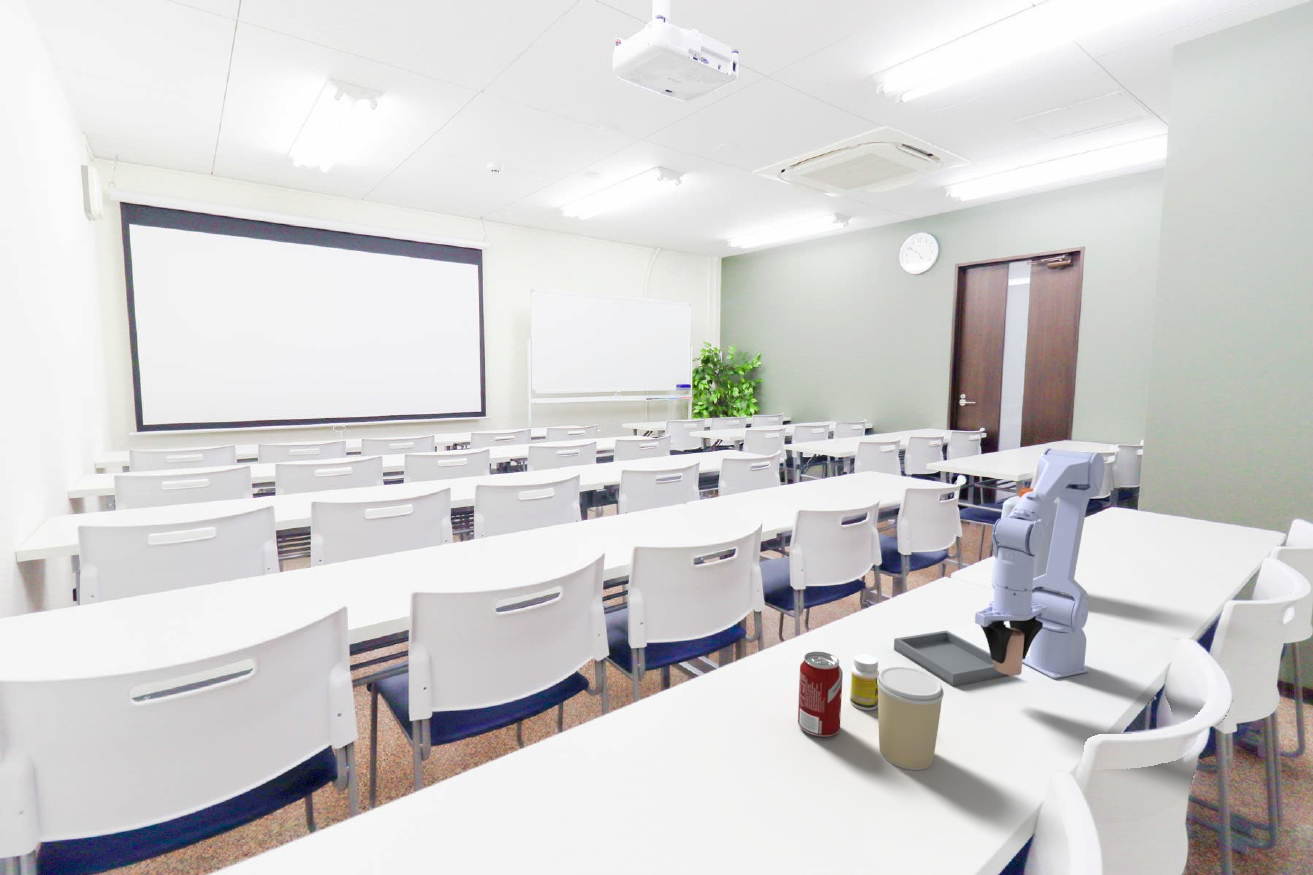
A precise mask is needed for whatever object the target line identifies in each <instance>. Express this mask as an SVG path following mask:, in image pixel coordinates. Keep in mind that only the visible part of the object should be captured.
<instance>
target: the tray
mask: <svg viewBox="0 0 1313 875" xmlns="http://www.w3.org/2000/svg"><path fill="white" fill-rule="evenodd" d="M893 641H894V642H893V650H895V651H896V652H897V653H898V654H900V655H902V656H904V657H905V658H907V659H908V660H910V661H912V662H913V663H914V664H917V666H920V667H921V668H922V669H925V670H926V672H929V673H930V674H932V676H934V677H937V678H938V679H940V680H942V681H943V682H944V683H946V684H948V685H950V686H951V687H956V686H961V685H967V684H971V683H978V682H981V681H988V680H993V679H997V678H1003V677H1008V676H1009V675H1007V674H1003V673H1001V672H999V671H997V670H995V669H994V667H993V662H994V660H993V659H991V654H990V652H988V651H986V650H984V649H982V648H980V647H979V646H977V645H975V644H973V643H971V642H969V641H968V640H965V639H963V638H962V637H960V636H957V635H956V634H954V633H952V632H950V631H948V630H940V631H936V632H935V631H934V632H929V633H922V634H916V635H915V634H914V635H910V636H909V635H908V636H903V637H897V638H894V640H893Z"/></svg>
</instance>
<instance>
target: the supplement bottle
mask: <svg viewBox="0 0 1313 875" xmlns="http://www.w3.org/2000/svg"><path fill="white" fill-rule="evenodd" d="M878 669H879V660H878V658H877V657H875V656H873V655H871V654H868V653H867V654H866V653H860V654H856V655H855V656H854V658H853V666H852V667H851V671H850V689H849V690H850V691H849V692H850V693H849V694H850V695H849V702H850V704H851V705H852V706H853V707H855V708H856V709H859V710H862V711H873V710H876V709H877V708H878V684H877V678H878V676H879V675H880V672H879V670H878Z"/></svg>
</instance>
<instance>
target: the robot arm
mask: <svg viewBox="0 0 1313 875" xmlns="http://www.w3.org/2000/svg"><path fill="white" fill-rule="evenodd" d="M1037 462H1038V463H1037V472H1038V474H1039V479H1038V480H1037V482H1036V483H1035V486H1034V488H1033V489H1034V490H1033V492H1027V493H1025V494H1023V496H1022V497H1021V498H1020V500H1019V501H1018V503H1017V504H1016V506H1015V507H1014V508H1013V510H1012V511H1011V513H1010V514H1009V516H1008V517H1003V518H1002V519H1001V518H998V519H997V520H996V522H995V523H994V526H993V530H992V534H991V539H992V540H991V541H992V544H993V556H994V558H995V557H996V558H997V563H996V577H995V588H994V592H993V593H994V594H993V601H990V602H989V606H987V607H986V608H985V609H983V610H980V611H976V612H975V614H974V616H975V617H974V623H975V624H977V625H978V626H980V628H981V629H982V631H983V633H984V635H985V638H986V641H987V646H988V649H989V653H990V654H991V659H993V660H994V661H996V662H998V663H1000V664H1002V663H1004V661H1005V657H1006V651H1007V645H1008V642H1009V640H1010V637H1011V635H1012V634H1013V632H1014V631H1013V630H1011V629H1009V628H1007V627H1008V626H1007V625H1006V624H1005V622H1009V627H1010V628H1014V629H1017V630H1020V631H1022V632H1023V633H1024V647H1023V660H1022V664H1025V665H1026V666H1028V667H1030V668H1032V669H1034V670H1036V671H1038V672H1041V673H1043V674H1044V675H1046V676H1048V677H1049V678H1052V679H1059V678H1064V677H1069V676H1074V675H1080V674H1084V673H1088V672H1089V669H1088V668H1086V667H1085V661H1086V652H1087V651H1086V650H1087V636H1086V634H1085V632H1084V630H1083V628H1084V627H1085V626H1086V624H1087V620H1088V616H1089V598H1090V597H1089V593H1088V592H1087V590H1086V589H1085V588H1084V587H1083V586H1082V585H1081V584H1079V582H1077V581H1076V579H1075V574H1076V569H1077V563H1078V558H1079V553H1080V547H1081V540H1082V536H1083V529H1084V525H1085V518H1086V513H1087V508H1088V505H1089V502H1090V499H1091V498H1095V497H1098V496H1100V493H1101V491H1102V488H1103V483H1104V482H1103V481H1104V477H1105V476H1104V475H1105V470H1106V468H1105V467H1106V466H1105V459H1104V457H1103V455H1102V454H1101V453H1100V452H1083V451H1074V450H1065V449H1064V450H1063V449H1062V450H1061V449H1052V448H1049V447H1047V448H1045V449H1043V451H1042V452H1041V453H1040V454H1039V457H1038V461H1037ZM1057 499H1058V501H1057V502H1058V506H1057V512H1056V518H1055V523H1054V529H1053V535H1052V540H1051V546H1050V551H1049V557H1048V563H1047V568H1046V574H1044V575H1041V576H1039V577H1036V578H1034V579H1033V576H1034V564H1035V555H1036V554H1037V553H1038V552H1039V550H1040V548H1041V545H1042V541H1043V537H1044V535H1045V529H1044V528H1045V527H1046V525H1047V524H1048V522H1049V520H1050V519H1051V517H1052V516H1053V514H1054V513H1055V510H1056V508H1055V504H1054V501H1056V500H1057ZM1043 588H1049V589H1053V590H1057V591H1059V592H1058V593H1056V592H1052V591H1048V590H1045V589H1043ZM1060 592H1061V593H1060ZM1063 593H1064V594H1063ZM1065 593H1066V594H1065ZM1028 652H1029V656H1027V655H1028Z"/></svg>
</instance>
